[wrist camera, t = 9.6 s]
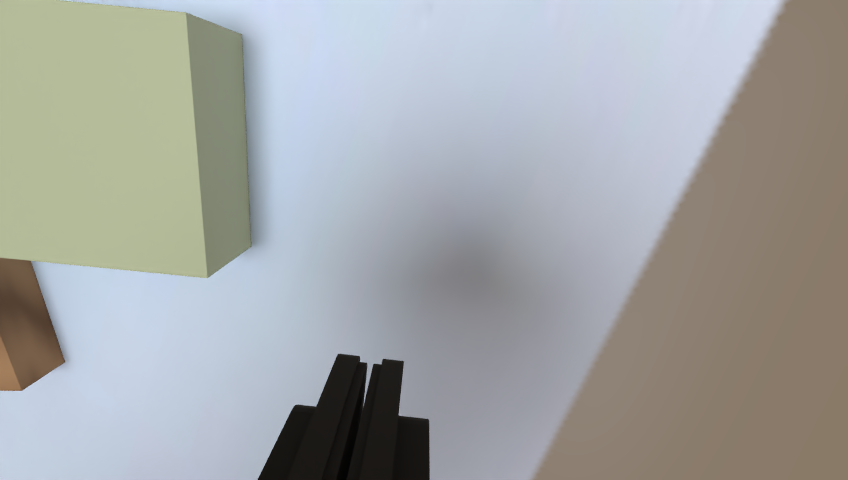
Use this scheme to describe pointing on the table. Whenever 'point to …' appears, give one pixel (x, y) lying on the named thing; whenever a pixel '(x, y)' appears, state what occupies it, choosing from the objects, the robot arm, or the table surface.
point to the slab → (121, 138)
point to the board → (24, 328)
